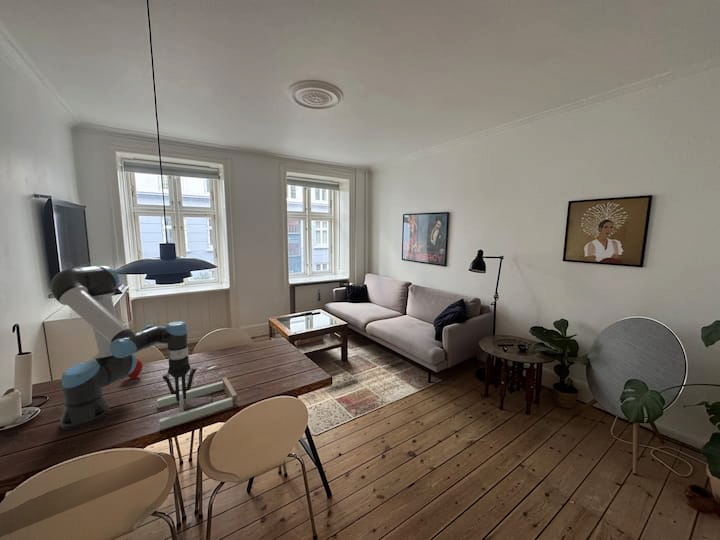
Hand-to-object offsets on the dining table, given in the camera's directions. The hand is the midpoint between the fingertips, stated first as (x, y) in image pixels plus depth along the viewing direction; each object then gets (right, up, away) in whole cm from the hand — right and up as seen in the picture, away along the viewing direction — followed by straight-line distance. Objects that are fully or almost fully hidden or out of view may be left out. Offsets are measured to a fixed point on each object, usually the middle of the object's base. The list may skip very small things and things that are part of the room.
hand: (181, 406), depth 131 cm
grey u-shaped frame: (+5, -2, +4) cm, 7 cm away
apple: (-43, +2, +27) cm, 51 cm away
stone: (+7, -2, +2) cm, 7 cm away
